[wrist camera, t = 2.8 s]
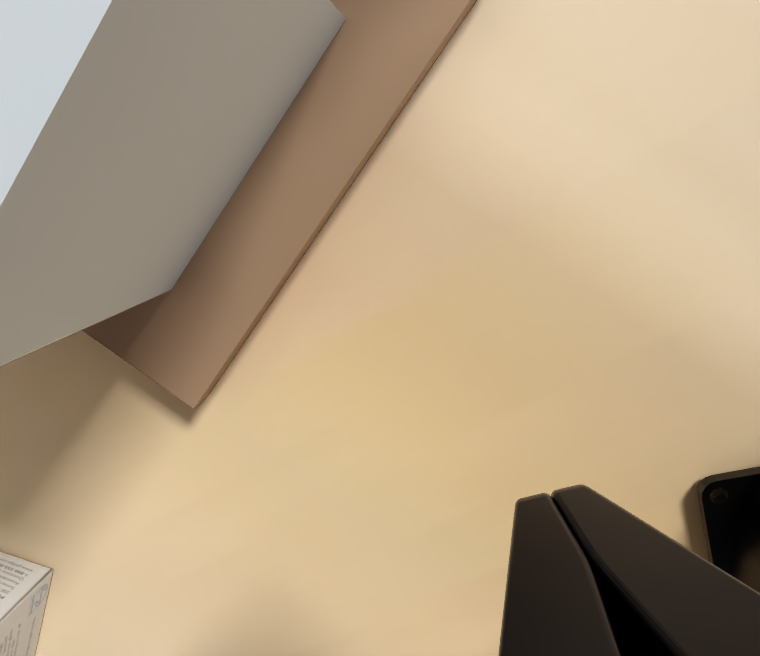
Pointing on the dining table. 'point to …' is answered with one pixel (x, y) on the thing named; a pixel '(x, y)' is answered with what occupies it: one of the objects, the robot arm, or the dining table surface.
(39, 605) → the light bulb box
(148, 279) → the carton
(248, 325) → the podium board
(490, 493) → the dining table surface
